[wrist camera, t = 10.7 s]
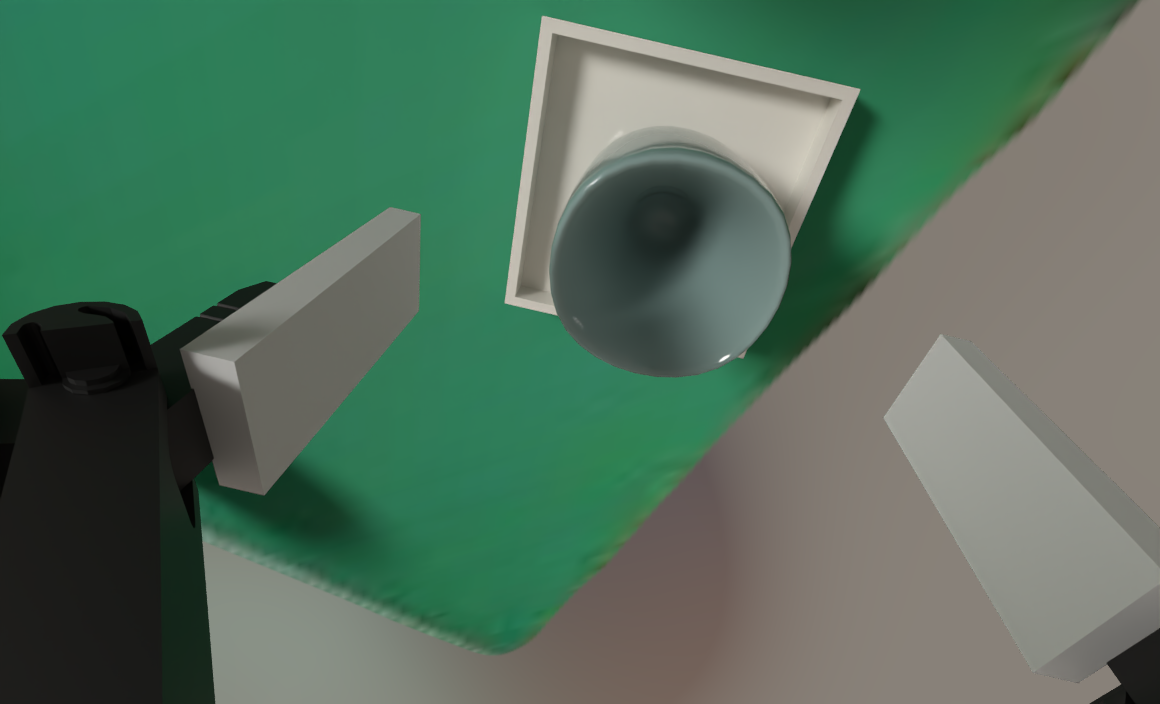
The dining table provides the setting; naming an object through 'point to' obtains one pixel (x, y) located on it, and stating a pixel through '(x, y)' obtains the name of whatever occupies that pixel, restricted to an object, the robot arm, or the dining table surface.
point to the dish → (658, 98)
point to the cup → (669, 254)
